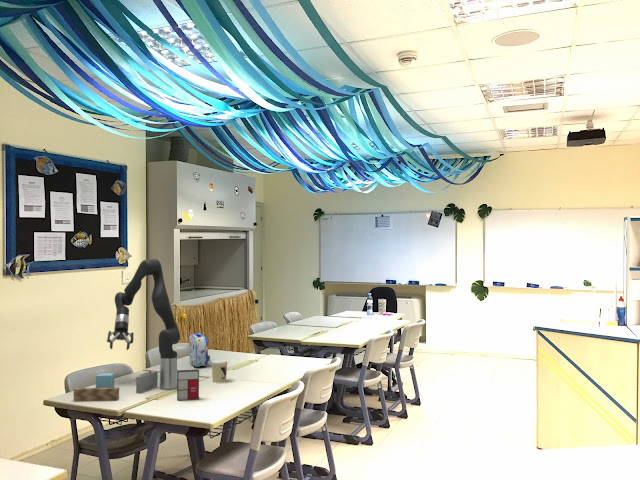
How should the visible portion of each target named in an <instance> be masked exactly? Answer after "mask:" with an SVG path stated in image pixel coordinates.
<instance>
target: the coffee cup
mask: <svg viewBox="0 0 640 480" xmlns="http://www.w3.org/2000/svg"><path fill="white" fill-rule="evenodd" d="M227 370H228V361H227V360H226V359H215V360H211V376H212V379H211V380H212V383H214V382H223V383H225V382H224V381H227Z"/></svg>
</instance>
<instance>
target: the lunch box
mask: <svg viewBox="0 0 640 480" xmlns="http://www.w3.org/2000/svg"><path fill="white" fill-rule="evenodd" d="M188 353H189V354H188V355H189V356H188V357H189V360H190V363H191V365H192V366H193V367H194V366H195V368H201V367H200V366H207V367H208V365H209V362H210V361H211V356H210V355H209V340H208V337H207V336H205V335H204V334H203V333H201V332H199V333H191V334H189V337H188Z"/></svg>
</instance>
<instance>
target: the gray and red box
mask: <svg viewBox="0 0 640 480" xmlns="http://www.w3.org/2000/svg"><path fill="white" fill-rule="evenodd" d="M177 370H178V371H177V388H176V392H177V393H176V400H177V401H188V400H189V401H192V400H194V401H195V400H199V399H200V392H199V391H200V369H198V368H195V369H177Z"/></svg>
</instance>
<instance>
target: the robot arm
mask: <svg viewBox="0 0 640 480" xmlns="http://www.w3.org/2000/svg"><path fill="white" fill-rule="evenodd" d="M163 273H164V272H163V268H162V265H161V262H160V260H159V259H157V258H151V259H149V258H148V259H144V260H142V261H141V262H140V263H139V265H138V267H137V269H136V271H135V272H134V275H133V277H132V278H131V280H130V282H128V284H127V285H126V286H125V288H124V291H123V292H122V291H120V292H119V291H118V292H117V293H116V294H115V296H114V305H115V308H116V314H115V319H114V331H111V330H109V331H108V333H107V339H106V342H107V343H109V349H110V350H113V345H114V342H115V341H116V340H118V341H124V342H125V343H126V351H128V350H129V349H130V346H131V344H133V343H134V332H129V323H130V322H129V321H130V317H129V315H130V309H129V306H131V305H132V304H133V301H134V299H135V296H136V295H137V293H138V292H139V291H140V289H141V288H142V284H143V283H142V282H143V281H142V280H144V278H145V277H146V276H152V277H153V283H154V284H153V285H154V286H153V289H152V291H151V292H152V293H151V302H152V307H153V309H154V311H155V313H156V314H157V315H158V316H159V318H160V319H161V320H162V323H163V324H164V327H165V329H163V330H161V331H160V332H159V334H158V335H159V336H158V352H159V355H160V359H159V360H160V361H159V362H160V366H159V367H160V368H159V369H160V370H159V372H160V373H159V374H160V375H159V378H160V379H159V388H160V389H161V390H177V371H178V370H179V369H178V352H177V351H175V350H174V349H173V345H177V344H178V343H180V340H181V333H180V330H179V327H178V325H177V323H176V320H175V316H174V313H173V311H172V306H171V302H170V298H169V295H168V293H167V288H166V287H167V286H166V284H165V280H164V279H165V278H164V274H163ZM112 336H113V337H112ZM128 336H129V337H130V339H129V337H128ZM111 337H112V339H111Z"/></svg>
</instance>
